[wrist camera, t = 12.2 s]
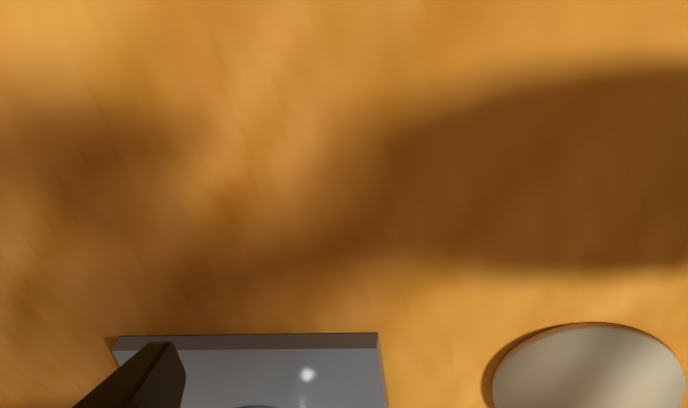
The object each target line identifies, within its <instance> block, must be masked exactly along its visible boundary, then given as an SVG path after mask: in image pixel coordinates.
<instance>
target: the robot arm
mask: <svg viewBox="0 0 688 408" xmlns="http://www.w3.org/2000/svg"><path fill="white" fill-rule="evenodd" d="M185 384H186V372H185V368H184V366H183V364H182V361H181V359H180V357H179V354H178V352H177V350H176V347H175V346H174V344H173V343H172V342H170V341H152V342H149V343H148V344H146V345H145V346H144V347H142V348H141V349H140V350H139V351H138V352H137V353H135V354H134V355H133V356H132V357H131V358H130V359H128V360H127V361H126V362H125V363H124V364H123V365H121V366H120V367H119V368H118V369H117V370H116V371H114V372H113V373H112V374H111V375H110V376H109V377H107V378H106V379H105V380H104V381H103V382H102V383H100V384H99V385H98V386H97V387H96V388H94V389H93V390H92V391H91V392H90V393H89V394H87V395H86V396H85V397H84V398H83V399H82V400H80V401H79V402H78V403H77V404H76V405H75V406H73V407H72V408H180V406H181V402H182V397H183V393H184V389H185Z"/></svg>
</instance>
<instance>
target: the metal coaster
mask: <svg viewBox="0 0 688 408" xmlns="http://www.w3.org/2000/svg"><path fill="white" fill-rule="evenodd" d="M685 390H686V379H685V376H684V372H683V370H682V368H681V366H680V363H679V361H678V360H677V358H676V356H675V354H674V353H673V352H672V351H671V349H670V348H669V347H668V346H666V345H665V344H664V343H663V342H662V341H660V340H659V339H657V338H656V337H654V336H652V335H650V334H648V333H646V332H644V331H641V330H638V329H635V328H632V327H628V326H624V325H619V324H611V323H594V322H591V323H577V324H570V325H564V326H560V327H556V328H552V329H549V330H546V331H543V332H540V333H538V334H536V335H534V336H532V337H529V338H528V339H526V340H524V341H523V342H521V343H519V344H518V345H517V346H515V347H514V348H513V349H511V350H510V351H509V352H508V353H507V354H506V355H505V356H504V358H503V359H502V360H501V361H500V363H499V364H498V366H497V368H496V370H495V372H494V376H493V379H492V395H493V402H494V405H495V408H679V407H680V405H681V403H682V401H683V398H684V396H685Z"/></svg>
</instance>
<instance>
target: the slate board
mask: <svg viewBox="0 0 688 408" xmlns="http://www.w3.org/2000/svg"><path fill="white" fill-rule="evenodd" d="M152 341H170V342H172V343H173V344H174V346H175V347H176V350H177V352H178V354H179V357H180V359H181V361H182V364H183V366H184V368H185V372H186V384H185V389H184V393H183V397H182V402H181V406H180V408H246V407H270V408H389V404H388V397H387V390H386V384H385V377H384V371H383V364H382V357H381V351H380V344H379V338H378V333H345V334H271V335H197V336H123V337H119V339H118V341H117V343H116V344H115V346H114V348H113V349H112V352H113V354H114V356H115V358H116V360H117V362H118V364H119V366H121V365H123V364H124V363H125V362H126V361H127V360H128V359H130V358H131V357H132V356H133V355H134V354H135V353H137V352H138V351H139V350H140V349H141V348H142V347H144V346H145V345H146V344H148V343H149V342H152Z"/></svg>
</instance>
